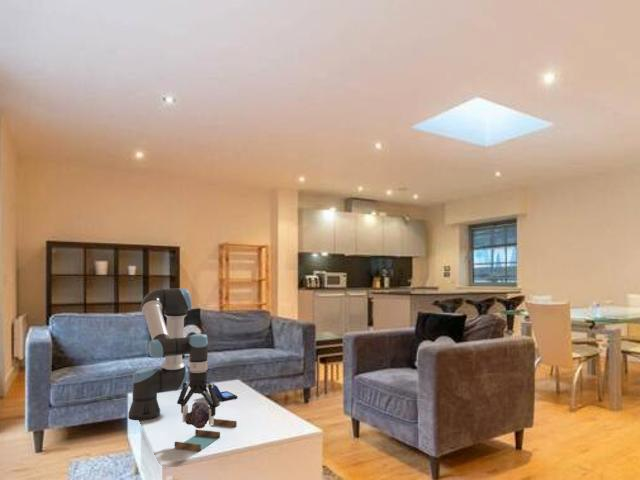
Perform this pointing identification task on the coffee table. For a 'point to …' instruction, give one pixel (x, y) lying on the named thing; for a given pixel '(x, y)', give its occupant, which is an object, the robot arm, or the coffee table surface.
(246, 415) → the coffee table surface
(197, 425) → the rock
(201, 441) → the marked pad
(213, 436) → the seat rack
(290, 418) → the coffee table surface
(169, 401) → the coffee table surface
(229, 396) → the handheld game console
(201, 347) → the robot arm
